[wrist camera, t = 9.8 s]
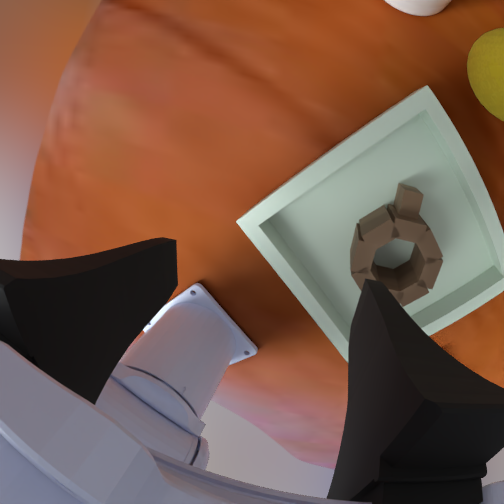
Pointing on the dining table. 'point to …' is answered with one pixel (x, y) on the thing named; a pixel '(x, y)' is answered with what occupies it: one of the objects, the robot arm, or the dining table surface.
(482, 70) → the lemon
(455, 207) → the tray
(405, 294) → the ring
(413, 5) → the drinking glass
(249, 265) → the dining table surface
